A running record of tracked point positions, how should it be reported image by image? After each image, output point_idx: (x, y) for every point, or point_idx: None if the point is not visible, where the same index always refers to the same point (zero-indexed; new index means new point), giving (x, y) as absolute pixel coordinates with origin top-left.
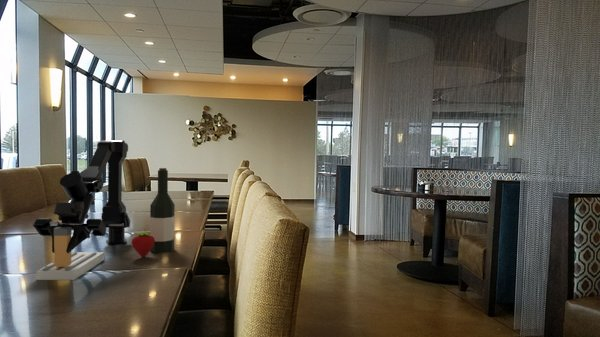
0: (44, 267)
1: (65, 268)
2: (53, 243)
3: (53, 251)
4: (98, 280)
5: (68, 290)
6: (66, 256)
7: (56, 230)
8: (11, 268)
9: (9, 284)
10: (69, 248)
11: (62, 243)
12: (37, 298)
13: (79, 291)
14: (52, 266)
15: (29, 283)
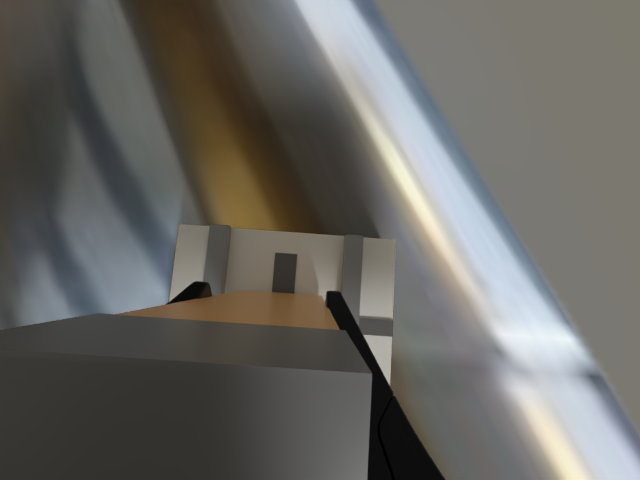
0: (386, 311)
1: (249, 279)
2: None
3: (327, 292)
4: (75, 214)
5: (173, 86)
6: (226, 294)
7: (287, 352)
8: (629, 471)
9: (472, 189)
10: (173, 302)
11: (227, 305)
12: (262, 8)
13: (121, 70)
14: None
15: (390, 196)
